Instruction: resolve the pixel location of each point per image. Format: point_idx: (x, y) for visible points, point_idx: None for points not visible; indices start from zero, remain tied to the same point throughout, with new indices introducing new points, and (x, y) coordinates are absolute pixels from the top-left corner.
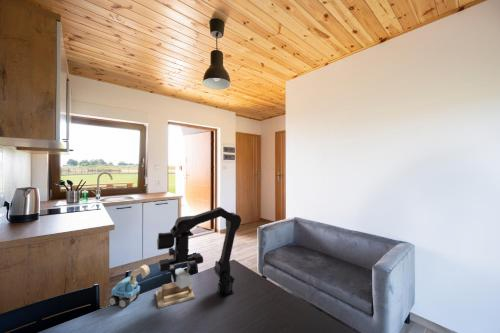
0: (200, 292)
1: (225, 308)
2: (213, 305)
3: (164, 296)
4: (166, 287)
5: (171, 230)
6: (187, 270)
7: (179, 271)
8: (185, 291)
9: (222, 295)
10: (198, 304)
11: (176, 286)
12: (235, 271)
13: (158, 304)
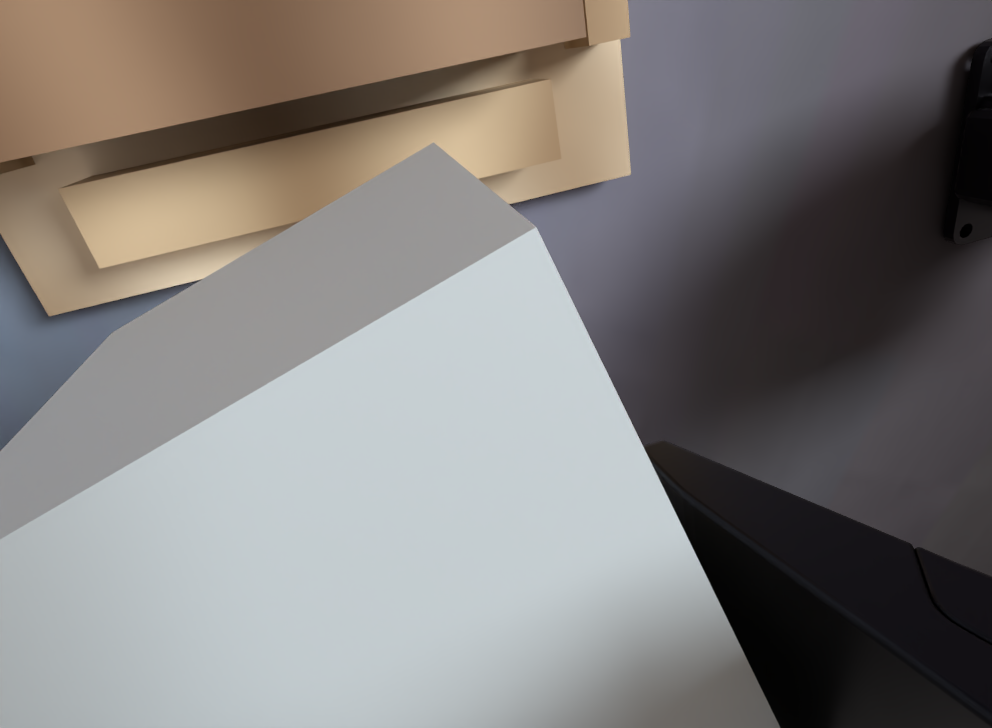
0: (732, 17)
1: (876, 434)
2: (793, 371)
3: (77, 191)
4: (6, 61)
5: None
6: (855, 719)
7: (446, 708)
8: (501, 109)
9: (966, 221)
10: (642, 323)
11: (302, 81)
12: None
13: (35, 282)
